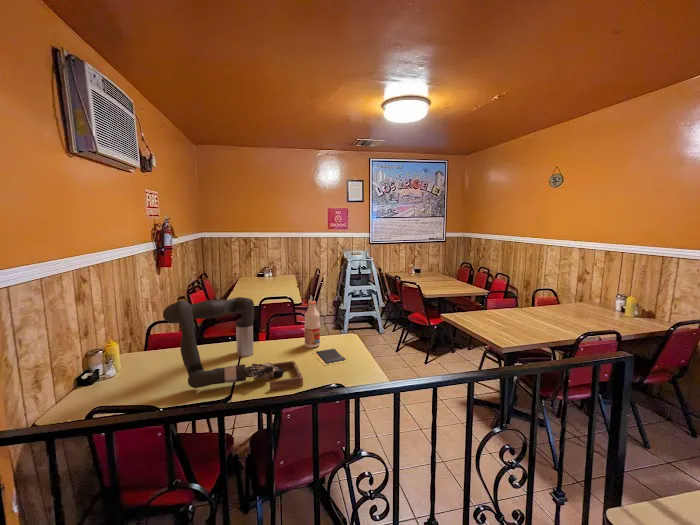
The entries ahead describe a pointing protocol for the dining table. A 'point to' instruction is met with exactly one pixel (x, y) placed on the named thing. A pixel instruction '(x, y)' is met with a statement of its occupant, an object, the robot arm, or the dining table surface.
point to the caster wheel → (276, 371)
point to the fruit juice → (312, 326)
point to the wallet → (329, 356)
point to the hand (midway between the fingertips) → (272, 368)
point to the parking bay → (287, 382)
